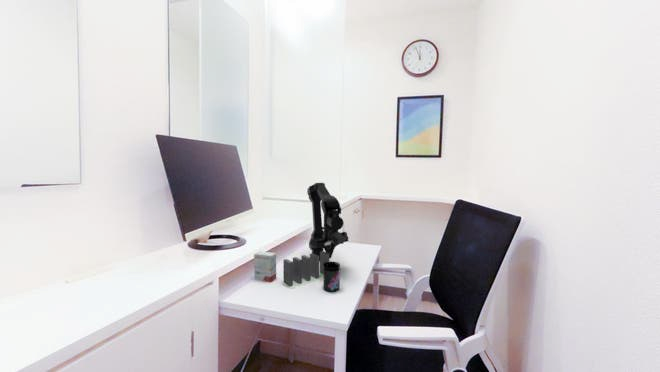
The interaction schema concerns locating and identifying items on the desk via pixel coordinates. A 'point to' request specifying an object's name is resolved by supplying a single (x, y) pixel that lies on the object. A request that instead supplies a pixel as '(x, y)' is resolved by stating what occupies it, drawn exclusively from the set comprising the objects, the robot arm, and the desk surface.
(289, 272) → the domino
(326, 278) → the supplement container
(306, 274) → the domino
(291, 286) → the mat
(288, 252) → the desk surface
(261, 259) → the ink box
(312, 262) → the domino
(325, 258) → the domino
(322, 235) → the robot arm
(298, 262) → the domino
